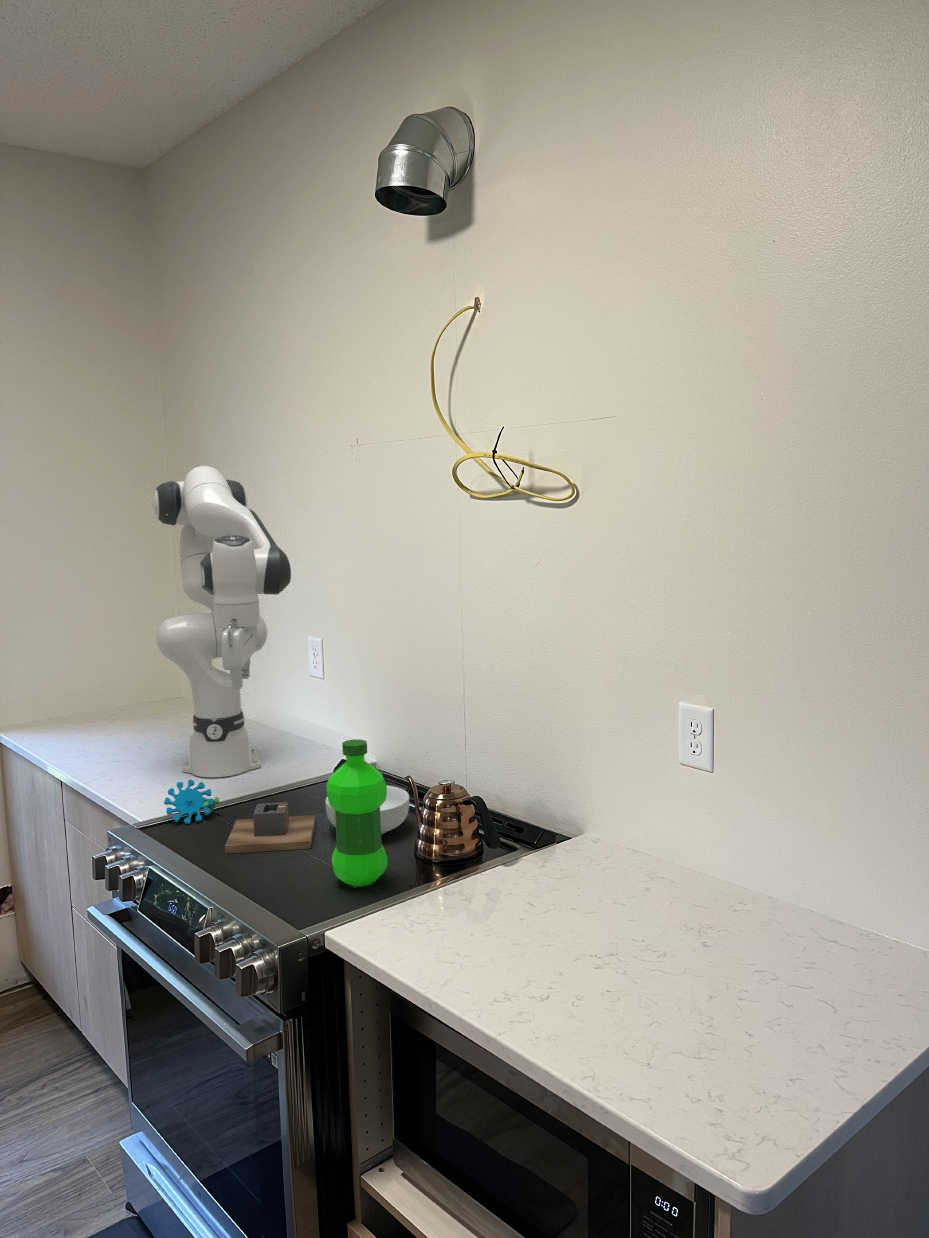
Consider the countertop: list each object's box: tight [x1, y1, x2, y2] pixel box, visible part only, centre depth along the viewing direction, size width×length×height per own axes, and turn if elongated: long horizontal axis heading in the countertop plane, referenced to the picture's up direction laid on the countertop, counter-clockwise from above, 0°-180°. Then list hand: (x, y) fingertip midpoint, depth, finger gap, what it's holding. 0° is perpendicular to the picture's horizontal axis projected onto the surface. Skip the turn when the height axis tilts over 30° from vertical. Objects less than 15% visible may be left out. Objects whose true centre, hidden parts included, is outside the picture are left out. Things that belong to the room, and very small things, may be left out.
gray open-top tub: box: [252, 801, 290, 836], centre depth 181 cm, size 6×6×5 cm
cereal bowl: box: [325, 784, 410, 836], centre depth 184 cm, size 17×17×7 cm
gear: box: [163, 779, 220, 825], centre depth 195 cm, size 11×6×10 cm
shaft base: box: [224, 815, 317, 854], centre depth 182 cm, size 14×16×2 cm
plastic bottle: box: [326, 739, 388, 886], centre depth 159 cm, size 10×10×25 cm
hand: (241, 683), depth 188 cm, fingers open, 8 cm apart
